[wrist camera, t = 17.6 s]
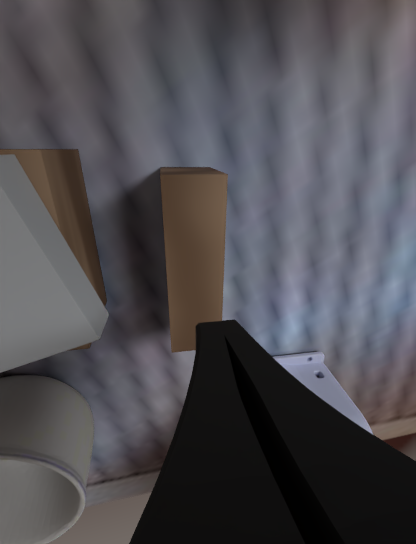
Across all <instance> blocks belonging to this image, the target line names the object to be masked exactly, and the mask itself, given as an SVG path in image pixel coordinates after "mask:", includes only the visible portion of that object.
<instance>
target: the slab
mask: <svg viewBox="0 0 416 544" xmlns="http://www.w3.org/2000/svg"><path fill="white" fill-rule="evenodd" d="M108 316H109V313H108V312H107V310H106V308H105V307H104V305H103V303H102V301H101V300H100V298H99V296H98V295H97V293H96V291H95V290H94V288H93V286H92V285H91V283H90V281H89V280H88V278H87V276H86V274H85V273H84V271H83V269H82V268H81V266H80V264H79V263H78V261H77V259H76V258H75V256H74V254H73V253H72V251H71V249H70V247H69V246H68V244H67V242H66V241H65V239H64V237H63V236H62V234H61V232H60V231H59V229H58V227H57V225H56V224H55V222H54V220H53V219H52V217H51V215H50V214H49V212H48V210H47V209H46V207H45V205H44V204H43V202H42V200H41V198H40V197H39V195H38V193H37V192H36V190H35V188H34V187H33V185H32V183H31V182H30V180H29V178H28V177H27V175H26V173H25V171H24V170H23V168H22V166H21V165H20V163H19V161H18V160H17V158H16V156H15V155H14V154H9V155H0V373H1V372H4V371H7V370H10V369H13V368H16V367H19V366H22V365H25V364H28V363H31V362H34V361H37V360H40V359H43V358H46V357H49V356H52V355H55V354H58V353H61V352H64V351H67V350H70V349H73V348H76V347H79V346H82V345H85V344H88V343H91V342H94V341H97V340H100V338H101V335H102V333H103V330H104V327H105V324H106V321H107V319H108Z"/></svg>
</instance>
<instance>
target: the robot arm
mask: <svg viewBox="0 0 416 544" xmlns="http://www.w3.org/2000/svg"><path fill="white" fill-rule="evenodd" d="M195 327H196V354H195V360H194V366H193V371H192V376H191V380H190V384H189V388H188V392H187V396H186V399H185V403H184V406H183V410H182V413H181V416H180V419H179V422H178V425H177V428H176V431H175V434H174V437H173V440H172V442H171V445H170V448H169V450H168V453H167V456H166V458H165V461H164V464H163V466H162V469H161V471H160V474H159V476H158V479H157V481H156V484H155V486H154V488H153V491H152V493H151V495H150V498H149V500H148V502H147V504H146V507H145V509H144V511H143V514H142V516H141V518H140V520H139V523H138V525H137V527H136V529H135V532H134V534H133V536H132V539H131V541H130V543H129V544H416V461H414V460H413V459H411V458H410V457H408V456H406V455H405V454H403V453H401V452H400V451H398V450H396V449H394V448H393V447H391V446H390V445H388V444H387V443H385V442H384V441H382V440H381V439H379V438H378V437H376V436H374V435H373V433H372V431H371V429H370V427H369V425H368V423H367V421H366V419H365V418H364V416H363V415H362V413H361V412H360V411H359V409H358V408H357V407H356V405H355V404H354V403H353V401H352V400H351V399H350V397H349V396H348V395H347V393H346V392H345V391H344V389H343V388H342V387H341V385H340V384H339V383H338V382H337V380H336V379H335V378H334V376H333V375H332V374H331V372H330V371H329V370H328V368H327V367H326V366H325V364H324V363H323V361H324V354H323V353H322V352H311V353H302V354H292V355H283V356H274V357H272V356H271V355H270V354H269V353H268V352H266V351H265V350H264V349H263V348H262V347H261V346H260V345H259V344H258V343H257V342H256V341H255V340H254V339H253V338H252V337H251V336H250V335H249V334H248V332H247V331H246V330H245V329H244V328H243V327H242V326H241V325H240V324H239V323H238V322H237V321H236V320H226V321H214V322H202V323H198V324H197V325H196V326H195Z"/></svg>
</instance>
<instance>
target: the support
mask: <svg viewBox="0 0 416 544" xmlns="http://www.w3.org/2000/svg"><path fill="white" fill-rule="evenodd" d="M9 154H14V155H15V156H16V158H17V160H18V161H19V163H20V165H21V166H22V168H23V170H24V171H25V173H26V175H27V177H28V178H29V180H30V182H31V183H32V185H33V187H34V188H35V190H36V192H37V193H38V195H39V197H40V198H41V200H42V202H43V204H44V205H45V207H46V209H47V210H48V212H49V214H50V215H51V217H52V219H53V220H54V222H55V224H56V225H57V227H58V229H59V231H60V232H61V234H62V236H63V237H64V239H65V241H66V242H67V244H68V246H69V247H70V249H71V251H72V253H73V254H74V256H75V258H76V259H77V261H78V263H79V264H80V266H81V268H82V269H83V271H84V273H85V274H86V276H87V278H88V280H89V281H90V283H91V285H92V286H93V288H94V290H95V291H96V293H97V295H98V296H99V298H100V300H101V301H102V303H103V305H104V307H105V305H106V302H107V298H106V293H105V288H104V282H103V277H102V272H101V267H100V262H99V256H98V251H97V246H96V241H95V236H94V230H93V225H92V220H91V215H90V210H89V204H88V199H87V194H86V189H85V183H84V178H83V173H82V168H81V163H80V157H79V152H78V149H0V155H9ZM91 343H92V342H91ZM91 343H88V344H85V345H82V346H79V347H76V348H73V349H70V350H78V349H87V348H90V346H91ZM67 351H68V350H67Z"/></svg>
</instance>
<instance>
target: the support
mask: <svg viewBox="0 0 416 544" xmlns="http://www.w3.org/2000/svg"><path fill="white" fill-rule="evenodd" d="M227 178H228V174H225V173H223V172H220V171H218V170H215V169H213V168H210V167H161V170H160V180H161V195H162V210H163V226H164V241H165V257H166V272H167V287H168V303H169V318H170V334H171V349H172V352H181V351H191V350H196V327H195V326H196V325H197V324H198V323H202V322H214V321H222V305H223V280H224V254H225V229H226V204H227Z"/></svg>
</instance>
